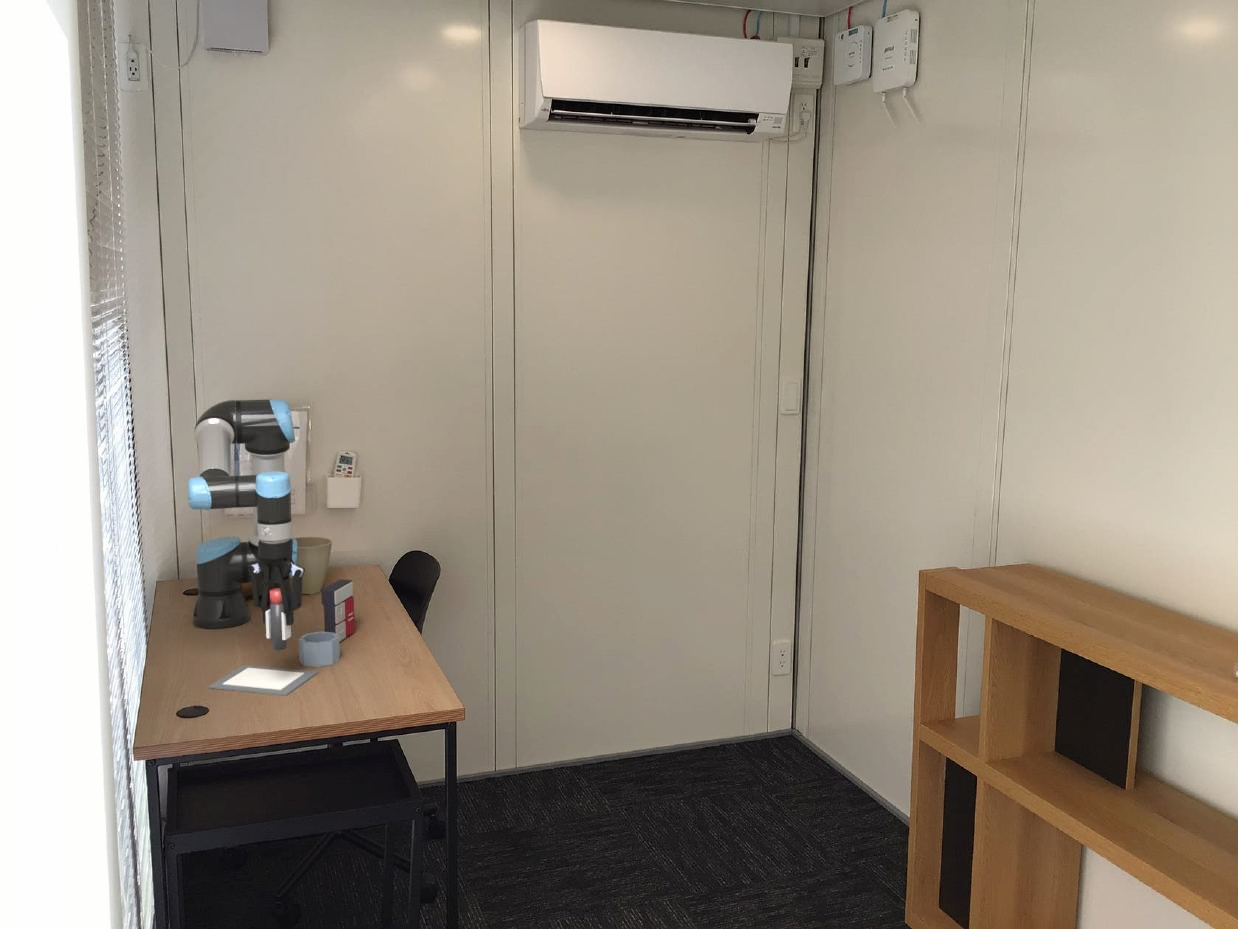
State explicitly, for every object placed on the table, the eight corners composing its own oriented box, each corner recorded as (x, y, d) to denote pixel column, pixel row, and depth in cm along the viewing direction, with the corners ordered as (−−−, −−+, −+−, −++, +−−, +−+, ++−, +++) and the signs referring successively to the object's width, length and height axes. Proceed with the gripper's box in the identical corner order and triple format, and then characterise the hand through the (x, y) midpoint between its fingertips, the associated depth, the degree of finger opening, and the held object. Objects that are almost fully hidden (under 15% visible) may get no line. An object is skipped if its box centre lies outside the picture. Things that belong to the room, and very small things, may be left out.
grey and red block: (337, 645, 273) (336, 590, 270) (322, 644, 273) (321, 589, 271) (356, 632, 283) (354, 579, 281) (341, 631, 284) (340, 578, 282)
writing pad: (208, 688, 242) (208, 685, 242) (243, 666, 256) (243, 664, 256) (286, 695, 238) (286, 693, 238) (318, 673, 252) (317, 671, 252)
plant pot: (316, 600, 313) (314, 549, 310) (273, 595, 317) (271, 545, 314) (342, 587, 327) (341, 538, 325) (301, 583, 331) (299, 534, 329)
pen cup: (294, 664, 258) (293, 641, 257) (311, 653, 267) (311, 630, 266) (327, 668, 256) (327, 644, 255) (344, 656, 265) (343, 633, 264)
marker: (268, 649, 241) (266, 591, 238) (277, 644, 244) (274, 587, 241) (281, 650, 240) (279, 592, 237) (289, 646, 243) (287, 588, 241)
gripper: (233, 541, 235) (238, 639, 239) (299, 545, 232) (303, 645, 236) (251, 533, 243) (255, 629, 246) (316, 538, 239) (318, 635, 243)
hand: (278, 637), depth 241 cm, fingers closed on marker, 3 cm apart
